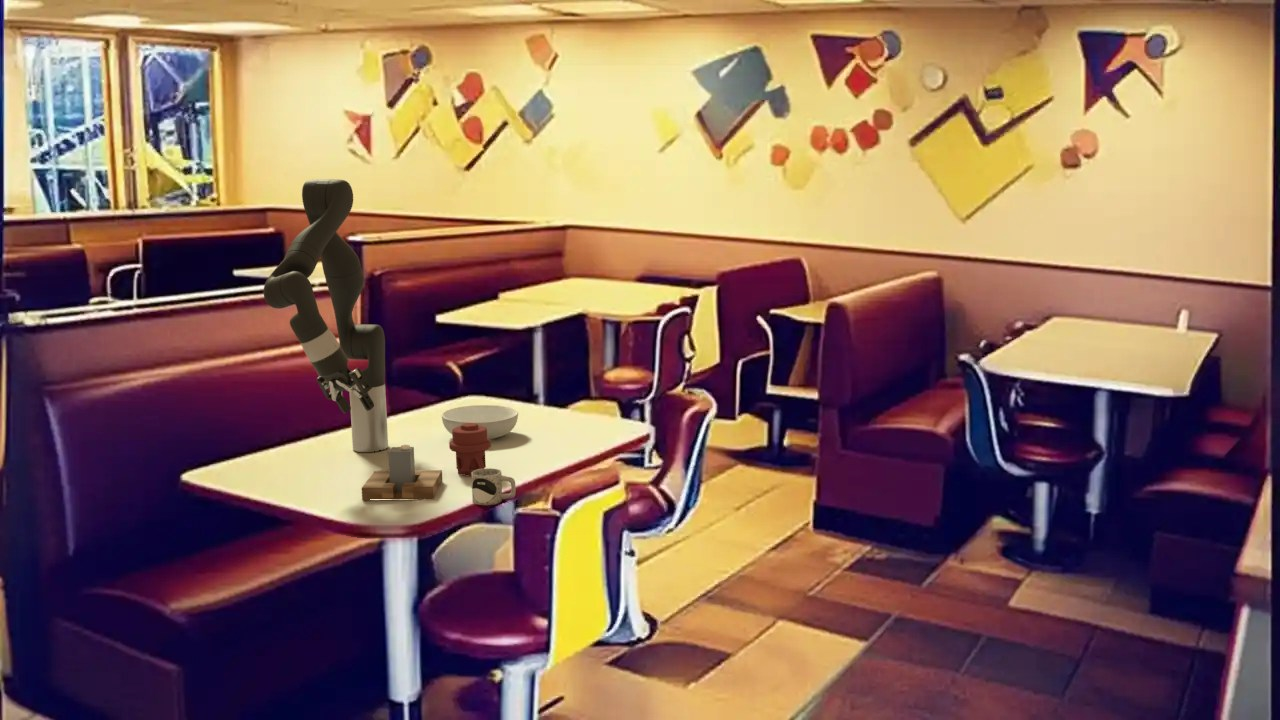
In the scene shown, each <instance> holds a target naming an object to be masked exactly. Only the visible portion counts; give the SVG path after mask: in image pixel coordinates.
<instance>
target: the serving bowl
mask: <svg viewBox="0 0 1280 720" xmlns="http://www.w3.org/2000/svg"><path fill="white" fill-rule="evenodd" d="M518 416H519V411H518V410H517V409H515V408H513V407H510V406H507V405H506V406H505V405H500V404H499V405H494V404H476V405H475V404H474V405H472V404H471V405H464V406H459V407H453V408H450V409H447V410H445V411H443V412H442V414H441V421H442V424H443V426H444V428H445V429H446V431H447V432H449V434H451V435H452V429H454V428H456V427H459V426H461V425H462V424H465V423H476V424H478V425H480V426H484V427H486V428H487V438H488V439H491V440H494V439H496V438H500V437H504V436H505V435H508V434H509V433H510V432H512V431H513V429H514V428H515V427H516V425H517V422H518ZM493 438H494V439H493Z"/></svg>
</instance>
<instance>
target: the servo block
mask: <svg viewBox="0 0 1280 720" xmlns="http://www.w3.org/2000/svg"><path fill="white" fill-rule="evenodd" d="M387 457H388V459H387V460H388V471H389V478H390V483H396V492H402V486H403V484H404V483H411V482H415V471H416V468H415V448H414V446H410V445H409V444H403V445H400V446H391V448H390V449H389V450H388V452H387Z"/></svg>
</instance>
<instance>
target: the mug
mask: <svg viewBox="0 0 1280 720" xmlns="http://www.w3.org/2000/svg"><path fill="white" fill-rule="evenodd" d="M471 474H472V477H471V495H472V497H471V498H472V503H473V504H475V505H476V506H477V505H479V506H493V505H497V504H500V503H502V502H503V500H506V499H513V498H515V496H516V492H517V491H516V489H517V488H516V481H515V478H513V477H512V476H506V475H502V471H501V470H500V468H499V469H497V468H491V467H490V468H487V467H485V468H484V469H478V470H475V471H473V472H472V473H471ZM502 482H509V483H510V487H511V489H510V490H511V491H510V492H509V493H503V483H502Z"/></svg>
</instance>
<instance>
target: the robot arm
mask: <svg viewBox="0 0 1280 720" xmlns="http://www.w3.org/2000/svg"><path fill="white" fill-rule="evenodd" d="M301 189H302V190H301V198H302V204H303V209H304V211H305V214H306V217H307V221H308V223H309V226H307V227H305V228H304V229H303V230H302V231H301V232H299V234H297V235H296V236H295V238H293V240H292V242H291V243H290V245H289V247H288V250H287V251H286V254H285V256H284V258H283V260H282V261H280V263H279V265H277V266H276V268H274V270H273V271H272V272H271V274H270V275H269V276H268V278H267V279H266V281H265V283H264V286H263V297H264V300H265V302H266V304H268V306H269V307H272V308H273V309H285V308H288V307H290V306H293V305H295V306H296V310H297V313H295V314H294V315H293V316H291V318H290V320H289V325H290V326H289V327H290V329H291V330H292V332H293V333H294V335H295V336H296V338H297V340H298V341H299V343H300V345H301V348H302V350H303V351H304V354H305V356H306V357H307V358H308V360H309V361H310V363H311V366H313V368H314V370H315V372H316V374H317V375H318V377H317V378H315V379H316V380H315V381H316V383H317V384H318V386H319V387H320V390H321V391H322V393H323V395H324V396H325V398H326V399H327V400H332V401H334V402H336V404H337V406H338V408H339V409H340V411H341V412H342V413H343V414H348V413H349V412H350V420H351V423H350V425H351V438H352V442H351V443H352V450H353V451H354V452H360V453H374V451H375V452H380V451H379V450H381V451H384V450H386V448H387V447H388V448H389V439H388V437H389V434H388V415H387V413H388V412H387V397H386V396H387V395H386V379H385V377H386V337H385V332H384V329H383V328H382V326H381V325H380V324H373V323H372V324H370V323H369V324H365V323H363V324H360V323H359V324H357V323H356V324H355V322H354V319H353V312H354V311H353V310H354V308H355V305H356V303H357V301H358V300H359V297H360V295H361V293H362V290H363V287H364V285H365V277H364V273H363V269H362V264H361V260H360V258H359V256H358V255H357V253H356V252H355V251H354V249H353V248H352V247H351V245H349V244H348V242H347V241H345V240H344V239H343V237H342V236H340V234H339V233H338V232H337V231H338V230H339V229H340V227H341V226H342V224H343V223H344V222H345V221H346V219H347V217H348V216H349V215H350V213H351V211H352V208H353V204H354V193H353V192H354V191H353V188H352V186H351V184H350V183H349V182H348V181H346V180H345V179H340V178H339V179H337V178H334V179H333V178H314V179H313V178H312V179H308V180H306V181H305V182H304V184H303V186H302V188H301ZM319 260H320V261H321V265H322V269H323V270H322V271H323V275H324V278H325V282H326V286H327V289H328V291H329V292H328V293H329V295H330V299H331V304H332V307H333V311H334V316H335V322H336V329H337V335H338V339H337V338H336V336H335V335H334V333H333V332H332V331H331V330H330V329H329V326H328V325H327V323H326V322H325V320H324V318H323V317H322V315H321V314H320V312H319V311H320V310H319V307H318V304H317V300H316V297H315V292H314V289H313V285H312V283H311V281H310V280H309V277H311V276H312V274H313V273H314V271H315V269H316V267H317V265H318V263H319ZM349 360H357V361H358V360H360V361H361V360H368V363H367V364H368V365H367V367H365V368H364V369H362V370H361V368H359V367H356V368H355V369H352V370H351V369H350V367H349V366H348V363H349ZM328 389H329V390H328ZM329 391H330V392H329ZM343 391H347V392H349V402H348V401H347V398H346V397H345V395H343ZM349 403H350V404H349ZM388 448H387V449H388ZM383 449H384V450H383Z"/></svg>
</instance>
